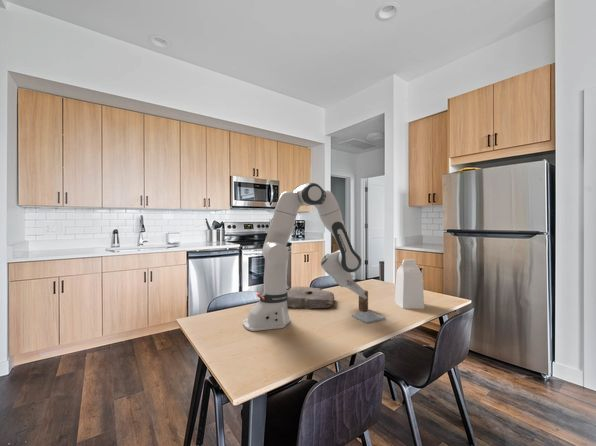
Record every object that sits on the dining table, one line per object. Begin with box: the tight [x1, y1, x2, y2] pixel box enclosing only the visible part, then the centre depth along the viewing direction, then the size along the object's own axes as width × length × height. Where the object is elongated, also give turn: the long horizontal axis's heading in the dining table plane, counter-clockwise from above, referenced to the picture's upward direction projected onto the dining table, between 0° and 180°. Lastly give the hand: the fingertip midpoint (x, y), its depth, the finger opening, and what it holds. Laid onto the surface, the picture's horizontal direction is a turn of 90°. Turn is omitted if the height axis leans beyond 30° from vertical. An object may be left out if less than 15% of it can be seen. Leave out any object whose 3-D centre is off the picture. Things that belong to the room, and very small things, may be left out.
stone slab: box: [287, 286, 335, 310], centre depth 165 cm, size 31×29×6 cm
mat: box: [351, 310, 387, 324], centre depth 137 cm, size 12×11×1 cm
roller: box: [358, 289, 369, 312], centre depth 149 cm, size 5×5×10 cm
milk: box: [394, 259, 425, 310], centre depth 156 cm, size 12×12×26 cm
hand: (361, 295), depth 149 cm, fingers open, 8 cm apart
